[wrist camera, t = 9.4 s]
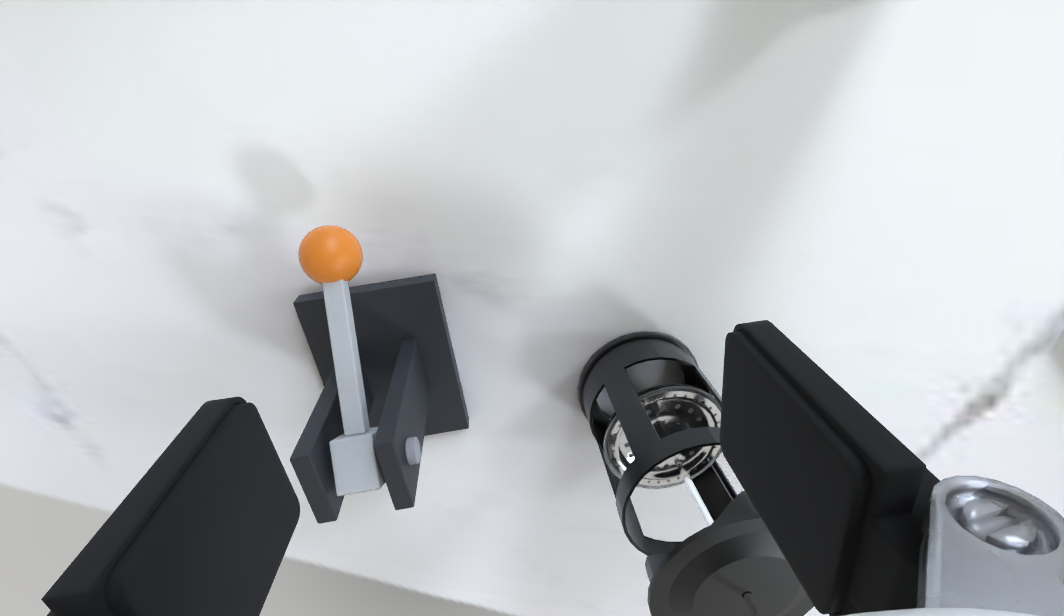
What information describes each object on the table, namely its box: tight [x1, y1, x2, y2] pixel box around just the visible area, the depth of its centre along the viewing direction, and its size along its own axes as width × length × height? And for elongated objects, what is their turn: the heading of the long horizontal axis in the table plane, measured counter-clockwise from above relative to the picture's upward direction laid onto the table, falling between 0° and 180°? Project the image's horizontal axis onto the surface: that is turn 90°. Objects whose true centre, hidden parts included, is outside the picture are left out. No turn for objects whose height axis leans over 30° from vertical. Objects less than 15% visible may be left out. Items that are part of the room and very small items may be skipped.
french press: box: [578, 332, 814, 616], centre depth 28 cm, size 12×9×23 cm
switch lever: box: [299, 226, 386, 496], centre depth 27 cm, size 14×3×3 cm, turn 8°
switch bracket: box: [290, 274, 469, 523], centre depth 30 cm, size 12×9×12 cm
